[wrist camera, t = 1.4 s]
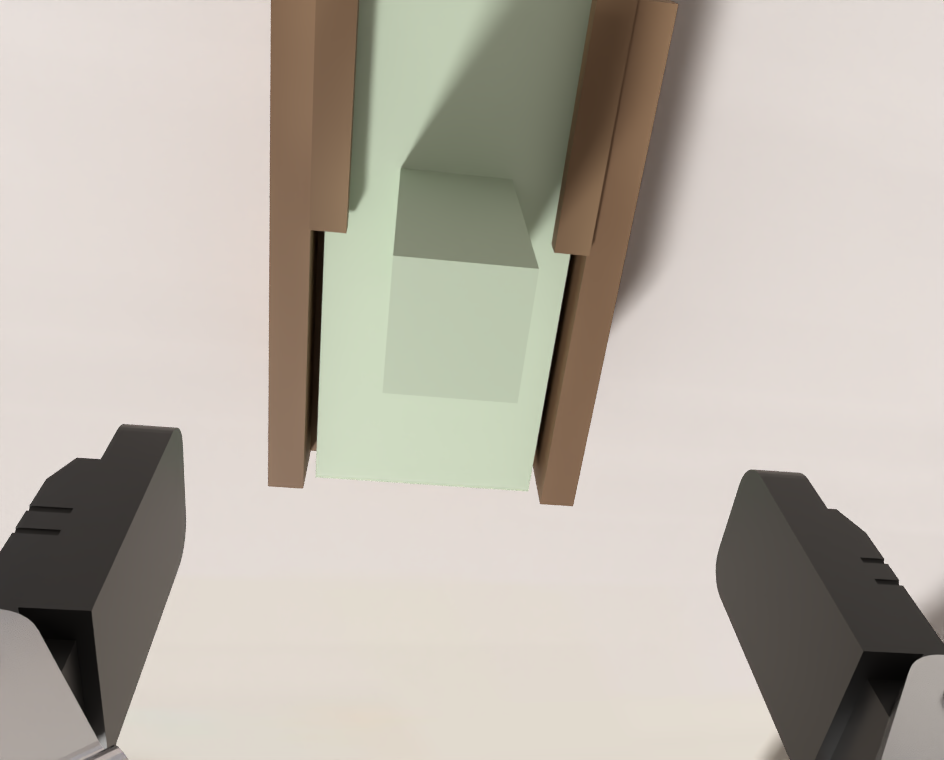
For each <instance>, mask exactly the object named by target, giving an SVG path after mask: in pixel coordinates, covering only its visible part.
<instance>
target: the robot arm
mask: <svg viewBox="0 0 944 760" xmlns="http://www.w3.org/2000/svg"><path fill="white" fill-rule="evenodd" d="M185 532H186V508H185V485H184V463H183V442H182V435H181V431H180V429H179V428H171V427H157V426H143V425H129V424H123V425H121V426H120V427H119V428H118V430H117V431H116V433H115V435H114V437H113V439H112V440H111V442H110V444H109V446H108V447H107V449H106V451H105V453H104V455H103V456H102V458H101V459H87V458H76V459H74V460H73V461H72V462H70V463H69V464H67V465H66V466H65V467H63V468H62V469H60V470H59V471H57V472H56V473H55V474H53V475H52V476H50V477H49V478H47V479H46V481H45V482H44V484H43V485H42V487H41V488H40V490H39V492H38V493H37V495H36V496H35V498H34V499H33V501H32V503H31V504H30V508H29V511H26V512H25V514H24V515H23V517H22V518H21V520H20V521H19V523H18V525H17V526H16V531H15V533H12V534H11V536H10V537H9V539H8V540H7V542H6V543H5V545H4V547H3V548H2V550H1V551H0V760H128V758H127V757H126V755H125V754H124V753H123V751H122V750H121V749H120V748H119V747H118V746H116V742H117V739H118V737H119V734H120V731H121V728H122V725H123V723H124V720H125V717H126V714H127V711H128V708H129V706H130V703H131V700H132V697H133V694H134V692H135V689H136V686H137V683H138V680H139V678H140V675H141V672H142V669H143V666H144V664H145V661H146V658H147V655H148V652H149V649H150V647H151V644H152V641H153V638H154V635H155V633H156V630H157V627H158V624H159V621H160V619H161V616H162V613H163V610H164V607H165V604H166V602H167V599H168V596H169V593H170V590H171V588H172V585H173V582H174V579H175V576H176V574H177V571H178V568H179V565H180V562H181V558H182V553H183V548H184V541H185ZM716 582H717V588H718V592H719V595H720V598H721V600H722V603H723V605H724V607H725V610H726V612H727V614H728V617H729V619H730V621H731V624H732V626H733V628H734V631H735V633H736V635H737V638H738V640H739V642H740V645H741V647H742V649H743V652H744V654H745V656H746V659H747V661H748V663H749V666H750V668H751V670H752V673H753V675H754V677H755V680H756V682H757V684H758V687H759V689H760V691H761V694H762V696H763V698H764V701H765V703H766V705H767V708H768V710H769V712H770V714H771V717H772V719H773V721H774V724H775V726H776V728H777V731H778V733H779V735H780V738H781V740H782V742H783V745H784V747H785V749H786V752H787V754H788V756H789V759H790V760H944V644H943V642H942V641H941V639H940V638H939V637H938V635H937V634H936V632H935V631H934V629H933V628H932V627H931V625H930V624H929V622H928V621H927V619H926V618H925V617H924V615H923V614H922V612H921V611H920V609H919V608H918V607H917V605H916V604H915V602H914V601H913V599H912V598H911V597H910V595H909V594H908V592H907V591H906V589H905V588H904V587H903V586H899V579H898V578H897V577H896V575H895V574H894V572H893V571H892V569H891V568H890V567H889V565H888V564H884V558H883V557H882V555H881V554H880V552H879V551H878V550H877V548H876V547H875V545H874V544H873V542H872V541H871V540H870V538H869V537H868V535H867V534H866V533H865V532H864V531H863V530H862V529H860V528H859V527H858V526H857V525H855V524H854V523H853V522H852V521H850V520H849V519H848V518H847V517H845V516H844V515H843V514H842V513H840V512H839V511H838V510H837V509H827V507H826V506H825V504H824V503H823V501H822V500H821V498H820V497H819V495H818V494H817V492H816V491H815V489H814V488H813V486H812V485H811V483H810V482H809V480H808V479H807V477H806V476H805V475H803V474H801V473H794V472H779V471H765V470H749V471H747V472H746V473H745V474H744V476H743V478H742V479H741V482H740V485H739V488H738V491H737V494H736V497H735V500H734V504H733V507H732V510H731V513H730V516H729V519H728V522H727V526H726V529H725V532H724V535H723V538H722V541H721V544H720V548H719V551H718V555H717V561H716Z"/></svg>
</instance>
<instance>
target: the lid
mask: <svg viewBox="0 0 944 760" xmlns="http://www.w3.org/2000/svg"><path fill="white" fill-rule="evenodd" d="M591 3H592V0H359V18H358V38H357V58H356V78H355V98H354V118H353V137H352V157H351V177H350V197H349V217H348V228H347V232H346V233H336V232H326V231H325V239H324V266H323V293H322V319H321V346H320V373H319V400H318V427H317V454H316V477H320V478H335V479H350V480H365V481H380V482H395V483H410V484H425V485H440V486H455V487H470V488H485V489H500V490H515V491H528V489H529V484H530V478H531V473H532V467H533V461H534V456H535V450H536V444H537V439H538V433H539V428H540V422H541V416H542V411H543V405H544V400H545V394H546V388H547V383H548V377H549V372H550V366H551V360H552V355H553V349H554V344H555V338H556V332H557V327H558V321H559V316H560V310H561V304H562V299H563V293H564V288H565V282H566V276H567V271H568V265H569V259H570V254H562V253H554V251H553V248H552V245H551V243H552V237H553V231H554V225H555V219H556V213H557V207H558V201H559V195H560V189H561V183H562V177H563V171H564V165H565V159H566V153H567V147H568V141H569V135H570V129H571V123H572V117H573V111H574V105H575V99H576V93H577V87H578V81H579V75H580V69H581V63H582V57H583V51H584V45H585V39H586V33H587V27H588V21H589V15H590V9H591Z"/></svg>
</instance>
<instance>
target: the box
mask: <svg viewBox="0 0 944 760" xmlns="http://www.w3.org/2000/svg"><path fill="white" fill-rule="evenodd" d="M677 9H678V4H677V3H675V2H673V1H670V0H592V3H591V9H590V15H589V21H588V27H587V33H586V39H585V45H584V51H583V57H582V63H581V69H580V75H579V81H578V87H577V93H576V99H575V105H574V111H573V117H572V123H571V129H570V135H569V141H568V147H567V153H566V159H565V165H564V171H563V177H562V183H561V189H560V195H559V201H558V207H557V213H556V219H555V225H554V231H553V237H552V243H551V245H552V248H553V251H554V253H562V254H570V259H569V265H568V271H567V276H566V282H565V288H564V293H563V299H562V304H561V310H560V316H559V321H558V327H557V332H556V338H555V344H554V349H553V355H552V360H551V366H550V372H549V377H548V383H547V388H546V394H545V400H544V405H543V411H542V416H541V422H540V428H539V433H538V439H537V444H536V450H535V456H534V461H533V469H534V474H535V479H536V485H537V490H538V495H539V501H540V504H548V505H563V506H573V504H574V499H575V494H576V489H577V485H578V480H579V475H580V470H581V466H582V461H583V456H584V451H585V447H586V442H587V437H588V432H589V428H590V423H591V418H592V413H593V409H594V404H595V399H596V394H597V390H598V385H599V380H600V375H601V370H602V366H603V361H604V356H605V351H606V347H607V342H608V337H609V332H610V328H611V323H612V318H613V313H614V309H615V304H616V299H617V294H618V290H619V285H620V280H621V275H622V271H623V266H624V261H625V256H626V252H627V247H628V242H629V237H630V232H631V228H632V223H633V218H634V213H635V209H636V204H637V199H638V194H639V190H640V185H641V180H642V175H643V171H644V166H645V161H646V156H647V152H648V147H649V142H650V137H651V133H652V128H653V123H654V118H655V114H656V109H657V104H658V99H659V94H660V90H661V85H662V80H663V75H664V71H665V66H666V61H667V56H668V52H669V47H670V42H671V37H672V33H673V28H674V23H675V18H676V14H677ZM358 18H359V0H271V89H270V256H269V424H268V486H273V487H288V488H303V486H304V481H305V476H306V471H307V466H308V461H309V456H310V452H311V450H312V451H317V427H318V400H319V373H320V346H321V319H322V293H323V266H324V239H325V231H326V232H336V233H346V232H347V228H348V217H349V197H350V177H351V157H352V137H353V118H354V98H355V78H356V58H357V38H358Z"/></svg>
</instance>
